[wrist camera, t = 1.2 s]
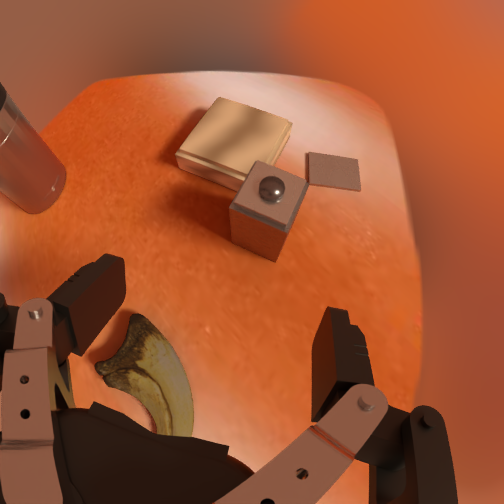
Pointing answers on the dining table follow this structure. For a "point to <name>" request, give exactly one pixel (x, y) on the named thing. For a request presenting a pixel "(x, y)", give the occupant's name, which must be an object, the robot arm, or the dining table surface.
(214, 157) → the stand
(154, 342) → the claw
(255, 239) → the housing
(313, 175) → the cover plate
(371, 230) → the dining table surface
